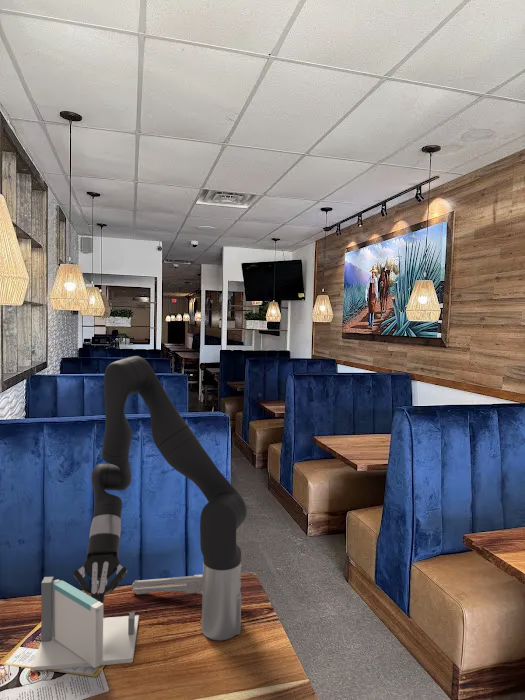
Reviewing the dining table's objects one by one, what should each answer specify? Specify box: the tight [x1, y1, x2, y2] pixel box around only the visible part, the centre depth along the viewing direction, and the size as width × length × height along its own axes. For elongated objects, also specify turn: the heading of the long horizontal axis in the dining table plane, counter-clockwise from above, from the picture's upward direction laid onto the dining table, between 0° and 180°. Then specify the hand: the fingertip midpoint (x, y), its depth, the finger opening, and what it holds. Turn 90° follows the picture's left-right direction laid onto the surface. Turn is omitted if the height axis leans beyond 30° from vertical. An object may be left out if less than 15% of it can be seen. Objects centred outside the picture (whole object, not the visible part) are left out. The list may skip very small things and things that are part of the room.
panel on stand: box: [29, 576, 140, 672], centre depth 108 cm, size 21×15×15 cm
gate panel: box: [53, 579, 104, 669], centre depth 104 cm, size 16×2×13 cm, turn 56°
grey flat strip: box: [131, 573, 242, 595], centre depth 127 cm, size 2×30×8 cm, turn 83°
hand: (96, 612), depth 109 cm, fingers closed
